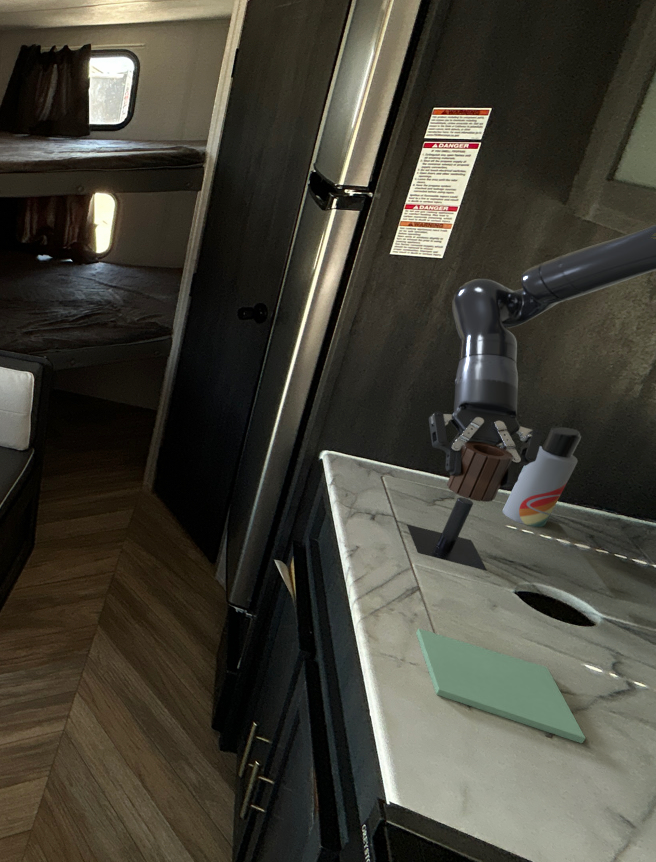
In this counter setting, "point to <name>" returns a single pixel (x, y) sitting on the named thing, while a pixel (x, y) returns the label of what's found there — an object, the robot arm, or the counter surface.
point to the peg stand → (449, 539)
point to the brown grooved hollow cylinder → (480, 471)
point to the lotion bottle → (543, 479)
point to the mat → (498, 684)
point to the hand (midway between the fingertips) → (480, 479)
